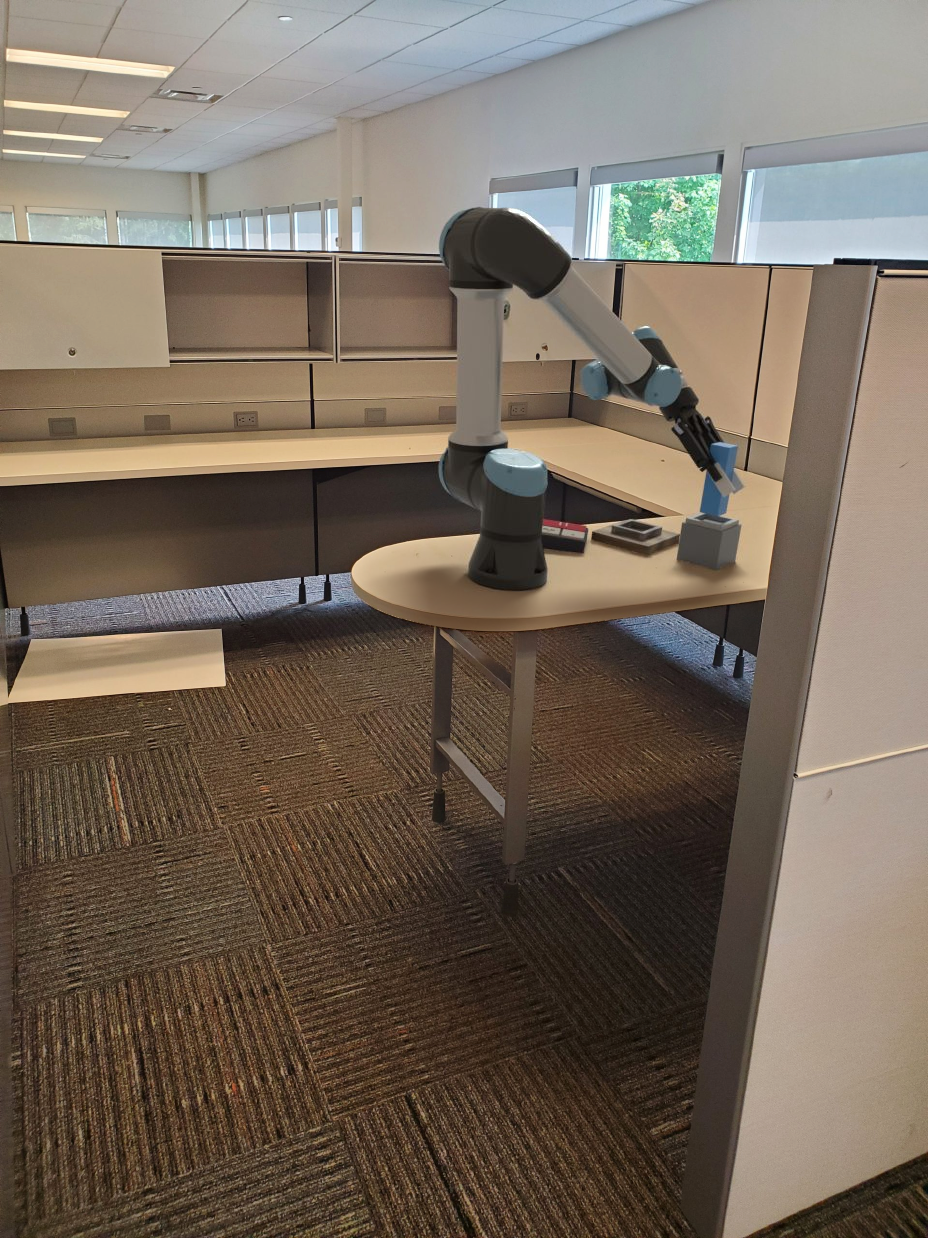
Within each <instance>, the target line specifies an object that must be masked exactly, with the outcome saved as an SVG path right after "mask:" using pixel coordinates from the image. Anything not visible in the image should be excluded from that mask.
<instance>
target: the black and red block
mask: <svg viewBox="0 0 928 1238" xmlns="http://www.w3.org/2000/svg"><path fill="white" fill-rule="evenodd" d="M588 535H589V528H588V527H587V525H583V524H578V523H577V524H576V523H571V522H565V521H559V520H553V519H552V520H551V519H545V518H543V527H542V538H541V542H542V546H543V550H551V551H557V550H558V551H559V552H565V551H566V553H574V552H575V554H584V552H585V548H586V544H587V540H588Z"/></svg>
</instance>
